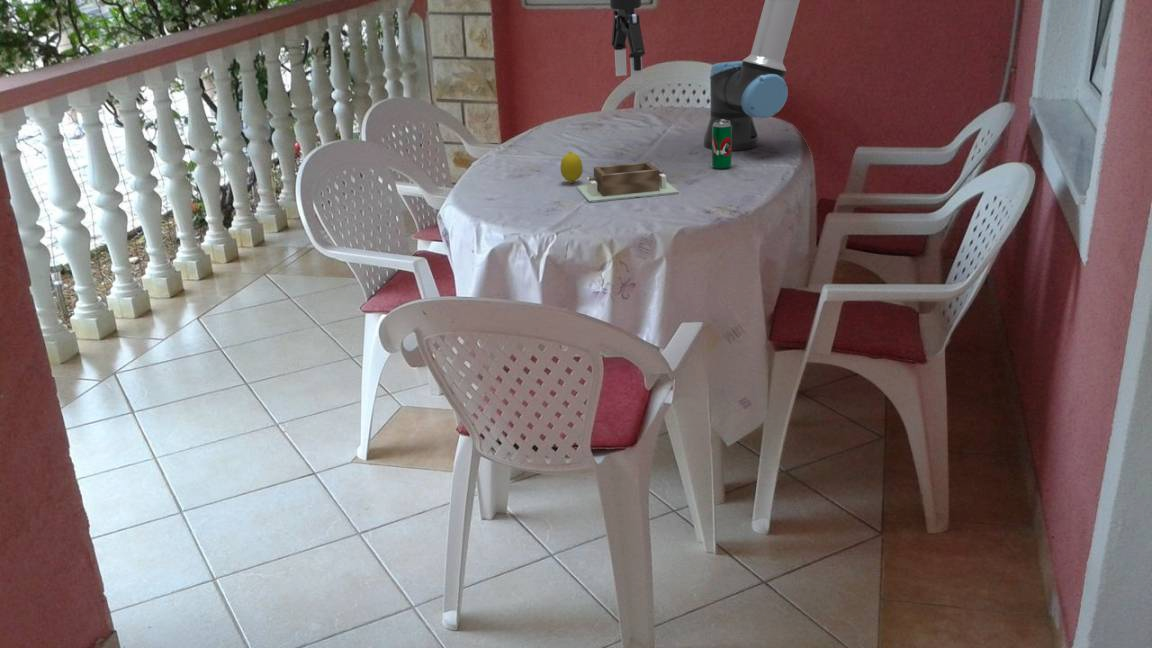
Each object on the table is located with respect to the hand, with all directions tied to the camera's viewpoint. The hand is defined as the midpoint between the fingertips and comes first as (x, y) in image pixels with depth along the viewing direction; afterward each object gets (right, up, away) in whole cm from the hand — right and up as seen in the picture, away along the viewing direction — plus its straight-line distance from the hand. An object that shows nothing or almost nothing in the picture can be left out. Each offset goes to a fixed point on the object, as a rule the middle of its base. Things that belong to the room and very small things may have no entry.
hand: (629, 79), depth 259 cm
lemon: (-14, -26, +1) cm, 30 cm away
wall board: (-1, -29, -8) cm, 30 cm away
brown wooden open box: (-1, -28, -8) cm, 30 cm away
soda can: (+25, -21, +9) cm, 34 cm away
